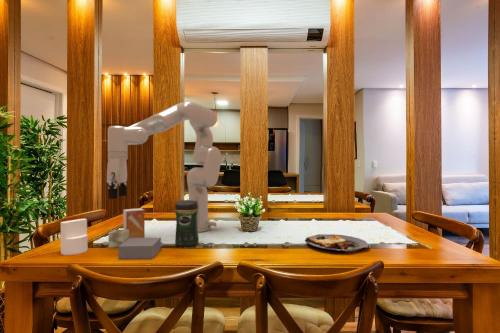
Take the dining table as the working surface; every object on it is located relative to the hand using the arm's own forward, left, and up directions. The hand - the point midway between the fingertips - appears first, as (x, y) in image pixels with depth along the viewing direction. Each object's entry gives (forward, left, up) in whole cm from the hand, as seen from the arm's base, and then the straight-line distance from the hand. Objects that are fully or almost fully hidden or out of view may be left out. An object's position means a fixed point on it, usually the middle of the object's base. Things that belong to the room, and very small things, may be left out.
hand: (118, 197), depth 127 cm
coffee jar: (-28, -1, -20) cm, 35 cm away
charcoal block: (-13, +12, -20) cm, 27 cm away
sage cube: (0, 0, -20) cm, 20 cm away
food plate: (-90, +3, -21) cm, 93 cm away
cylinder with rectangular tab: (+14, +8, -20) cm, 26 cm away
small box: (-2, -12, -20) cm, 24 cm away
